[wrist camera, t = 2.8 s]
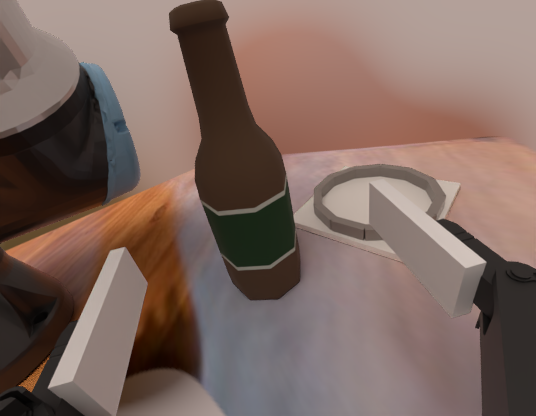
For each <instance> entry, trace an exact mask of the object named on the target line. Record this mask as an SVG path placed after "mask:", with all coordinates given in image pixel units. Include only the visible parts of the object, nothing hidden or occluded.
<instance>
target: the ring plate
mask: <svg viewBox="0 0 536 416" xmlns="http://www.w3.org/2000/svg"><path fill="white" fill-rule="evenodd" d="M380 179H384V180H385V181H386V182H388V183H389V184H390V185H391V186H393V187H394V188H395V189H396V190H398V191H399V192H400V193H401V194H403V195H404V196H405V197H406V198H408V199H409V200H410V201H411V202H413V203H414V204H415V205H416V206H418V207H419V208H420V209H421V210H422V211H424V212H425V213H426V214H427V215H429V216H430V217H431V218H432V219H434V220H435V221H436V220H440V219H446V217H447V215H448V213H449V211H450V209H451V206H452V204H453V202H454V200H455V198H456V196H457V194H458V191H459V189H460V185H461V183H457V182H450V181H443V180H436V179H434V178H432V177H430V176H428V175H426V174H423V173H421V172H419V171H417V170H414V169H412V168H409V167H401V166H393V165H386V164H381V165H380V164H375V165H364V166H354V167H348V166H344V167H343V168H342V169H341V170H340V171H339V172H336V173H333V174H331V175H329V176H327V177H326V178H325V179H324V180H323V181H322V182H321V183H320V184H319V185H317V186H316V187H315V189H314V196H313V197H312V198H311V199H309V200H308V201H307V202H306V203H305V204H304V205H303V206H302V207H301V208H300V209H299V210H298V211H297V212H296V213H295V214H294V215H293V216H294V222H295V227H296V228H299V229H302V230H305V231H308V232H311V233H314V234H317V235H321V236H324V237H327V238H330V239H333V240H336V241H339V242H342V243H345V244H348V245H351V246H354V247H357V248H360V249H363V250H366V251H369V252H372V253H375V254H378V255H381V256H384V257H387V258H390V259H393V260H396V261H400V262H402V260H401V259H400V258H399V257H398V256H397V255H396V254H395V252H394V251H393V250H392V249H391V248H390V247H389V246H388V244H387V243H386V242H385V241H384V240H383V239H382V238H381V236H380V235H379V234H378V233H377V232H376V231H375V229H374V228H373V227H372V226H371V225H370V224H369V182H372V181H376V180H380Z"/></svg>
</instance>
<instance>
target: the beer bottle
mask: <svg viewBox="0 0 536 416" xmlns="http://www.w3.org/2000/svg"><path fill="white" fill-rule="evenodd" d="M228 18H229V16H228V14H227V12H226V10H225V8H224V6H223V4H222V2H220V1H217V0H201V1H195V2H191V3H187V4H183V5H180V6H178V7H176V8H174V9H173V10H172V11H171V12H170V13H169V20H170V30H171V31H172V32H173V33H175V34H177V35H178V39H179V43H180V47H181V51H182V54H183V59H184V62H185V66H186V70H187V74H188V78H189V82H190V86H191V89H192V93H193V97H194V101H195V105H196V109H197V113H198V117H199V123H200V129H201V137H202V139H201V143H200V146H199V150H198V153H197V157H196V161H195V183H196V186H197V190H198V193H199V197H200V200H201V203H202V205H203V208H204V211H205V213H206V216H207V218H208V221H209V224H210V226H211V229H212V232H213V234H214V237H215V239H216V242H217V245H218V247H219V250H220V253H221V255H222V258H223V260H224V263H225V266H226V268H227V271H228V273H229V275H230V278H231V280H232V282H233V284H234V285H235V286H236V287H237V288H238V289H239V290H240V291H241V292H242V293H243V294H244V295H245V296H246V297H247V298H248V299H250V300H267V299H279V298H280V297H281V296H283V295H284V294H285V293H286V292H287V291H289V290H290V289H291V288H292V287H294V286H295V285H296V284H297V283H298V282H299V281H300V254H299V245H298V240H297V234H296V228H295V222H294V216H293V211H292V205H291V199H290V193H289V187H288V182H287V176H286V171H285V167H284V163H283V159H282V156H281V153H280V152H279V150H278V148H277V147H276V145H275V143H274V142H273V140H272V139H271V138H270V137H269V136H268V135H267V134H266V133H265V132H264V131H263V130H262V129H261V128H260V127H259V126H258V125H257V124H256V122H255V121H254V118H253V115H252V113H251V110H250V108H249V106H248V102H247V99H246V95H245V92H244V88H243V85H242V81H241V78H240V74H239V70H238V68H237V64H236V60H235V56H234V53H233V50H232V46H231V42H230V39H229V35H228V32H227V28H226V25H225V24H226V22H227V20H228Z"/></svg>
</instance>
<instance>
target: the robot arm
mask: <svg viewBox="0 0 536 416" xmlns="http://www.w3.org/2000/svg"><path fill="white" fill-rule="evenodd" d="M139 180H140V167H139V162H138V158H137V154H136V150H135V147H134V144H133V141H132V137H131V135H130V132H129V130H128V128H127V126H126V122H125V119H124V116H123V112H122V109H121V107H120V104H119V102H118V99H117V97H116V95H115V93H114V90H113V88H112V86H111V84H110V82H109V80H108V78H107V76H106V75H105V73H104V71H103V70H102V68H100V67H99V66H98V65H96V64H87V63H84V62H82V63H79V62H78V60H77V58H76V56H75V54H74V53H73V51H72V50H71V49H70V48H69V46H68V45H67V44H65V43H64V42H63V41H62V40H60V39H59V38H57V37H55V36H54V35H51V34H49V33H47V32H44V31H42V30H40V29H37V28H35V27H32V25H31V24H30V22H29V20H28V19H27V17H26V15H25V14H24V12H23V10H22V9H21V7H20V6H19V4H18V2H17V0H0V243H2V242H5V241H8V240H10V239H13V238H16V237H18V236H21V235H24V234H26V233H29V232H31V231H34V230H37V229H39V228H42V227H45V226H47V225H50V224H53V223H55V222H58V221H61V220H63V219H66V218H69V217H71V216H74V215H77V214H79V213H82V212H85V211H87V210H90V209H92V208H95V207H98V206H101V205H102V206H103V205H106V204H107V203H109V202H110V201H111V200H112V199H114V198H117V197H119V196H121V195H123V194H125V193H127V192H130V191H132V190H133V189H134V188H135V187H136V186H137V185H138V183H139ZM369 224H370V225H371V226H372V227H373V228H374V229H375V231H376V232H377V233H378V234H379V235H380V236H381V238H382V239H383V240H384V241H385V242H386V243H387V244H388V246H389V247H390V248H391V249H392V250H393V251H394V252H395V254H396V255H397V256H398V257H399V258H400V259H401V260H402V262H403V263H404V264H405V265H406V266H407V267H408V269H409V270H410V271H411V272H412V273H413V274H414V275H415V277H416V278H417V279H418V280H419V281H420V282H421V283H422V285H423V286H424V287H425V288H426V289H427V290H428V292H429V293H430V294H431V295H432V296H433V297H434V298H435V300H436V301H437V302H438V303H439V304H440V305H441V306H442V308H443V309H444V310H445V311H446V312H447V313H448V315H449V316H450V317H451V318H454V317H458V316H461V315H465V314H468V313H470V312H471V309H472V305H473V303H474V304H475V305H476V306H477V307H478V308H479V309H480V310H481V312H480V315H479V318H478V321H477V324H476V327H475V328H477V329H479V327H480V349H481V383H482V416H536V269H535V268H533V267H531V266H529V265H527V264H523V263H519V262H510V261H508V262H507V261H506V260H504V259H503V258H502V257H500V256H499V255H498V254H496V253H495V252H494V251H492V250H491V249H490V248H488V247H487V246H486V245H484V244H483V243H482V242H480V241H479V240H478V239H475V238H474V236H472V235H471V234H470V233H467V232H466V230H464V229H463V228H462V227H460V226H459V225H458V224H456V223H454V222H451V221H449V220H446V219H440V220H436V221H435V220H434V219H432V218H431V217H430V216H429V215H427V214H426V213H425V212H424V211H422V210H421V209H420V208H419V207H418V206H416V205H415V204H414V203H413V202H411V201H410V200H409V199H408V198H406V197H405V196H404V195H403V194H401V193H400V192H399V191H398V190H396V189H395V188H394V187H393V186H391V185H390V184H389V183H388V182H386V181H385V180H384V179H380V180H376V181H372V182H369ZM147 285H148V283H147V281H146V279H145V278H144V276H143V275H142V273H141V271H140V270H139V268H138V266H137V265H136V263H135V262H134V260H133V258H132V257H131V255H130V254H129V252H128V250H127V249H126V247H122V248H119V249H115V250H111V251H110V253H109V255H108V257H107V259H106V261H105V263H104V266H103V268H102V270H101V272H100V274H99V277H98V279H97V281H96V283H95V285H94V288H93V290H92V292H91V294H90V296H89V299H88V301H87V303H86V305H85V307H84V310H83V312H82V314H81V316H80V318H79V320H76V321H73V322H70V320H71V317H72V313H73V308H74V302H73V298H72V296H71V294H70V293H69V292H68V291H67V289H66V288H65V287H64V286H63V285H62V284H61V283H60V282H59V281H58V280H57V279H55V278H53V277H51V276H49V275H47V274H45V273H43V272H41V271H39V270H37V269H35V268H33V267H31V266H29V265H27V264H25V263H23V262H21V261H19V260H17V259H15V258H13V257H11V256H9V255H8V254H7V253H6V252H5V251H4V250H3V249H2V248H1V247H0V416H116V413H117V409H118V405H119V401H120V396H121V393H122V388H123V384H124V380H125V376H126V372H127V368H128V364H129V360H130V355H131V351H132V347H133V343H134V339H135V335H136V331H137V327H138V322H139V318H140V314H141V310H142V306H143V302H144V298H145V294H146V289H147ZM69 322H70V324H69ZM68 324H69V325H68ZM54 347H55V349H53V348H54ZM52 349H53V350H52ZM51 350H52V352H51V354H50V357H49V360H48V361H47V363H46V365H45V367H44V369H43V371H42V373H41V375H40V377H39V379H38V381H37V383H36V385H35V387H34V389H33V391H32V393H31V392H30V391H28V390H27V389H25V388H24V387H23V386H16V385H17V384H18V383H20V382H21V381H22V380H23V379H24V378H25V377H26V376H27V375H29V374H30V373H31V372H32V371H33V370H34V369H35V368H36V367H37V366H38V365H39V364H40V363H41V362H42V361H43V359H44V358H45V357H46V356H47V355H48V354H49V353H50V351H51Z"/></svg>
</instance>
